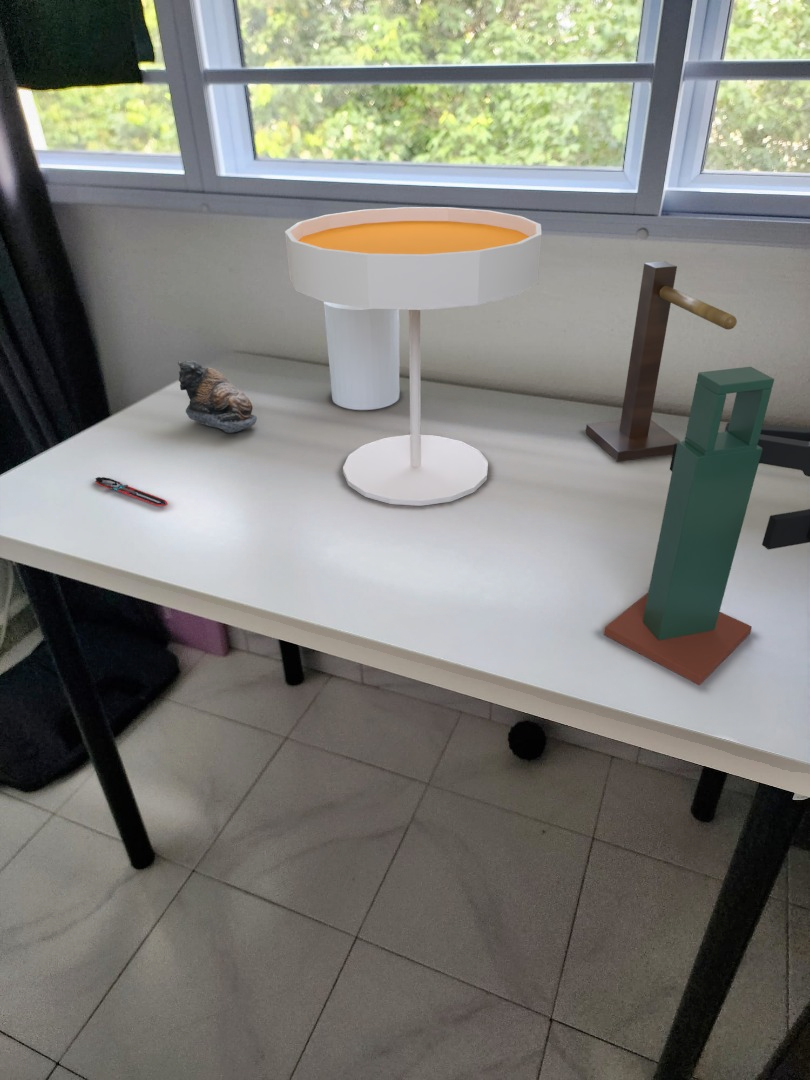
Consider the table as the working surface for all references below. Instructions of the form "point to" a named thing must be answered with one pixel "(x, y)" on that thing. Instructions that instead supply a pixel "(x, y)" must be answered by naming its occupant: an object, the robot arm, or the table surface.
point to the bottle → (363, 355)
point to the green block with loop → (706, 503)
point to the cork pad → (679, 642)
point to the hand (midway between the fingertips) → (716, 492)
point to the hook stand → (649, 367)
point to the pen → (130, 491)
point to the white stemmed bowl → (414, 315)
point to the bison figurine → (214, 398)
